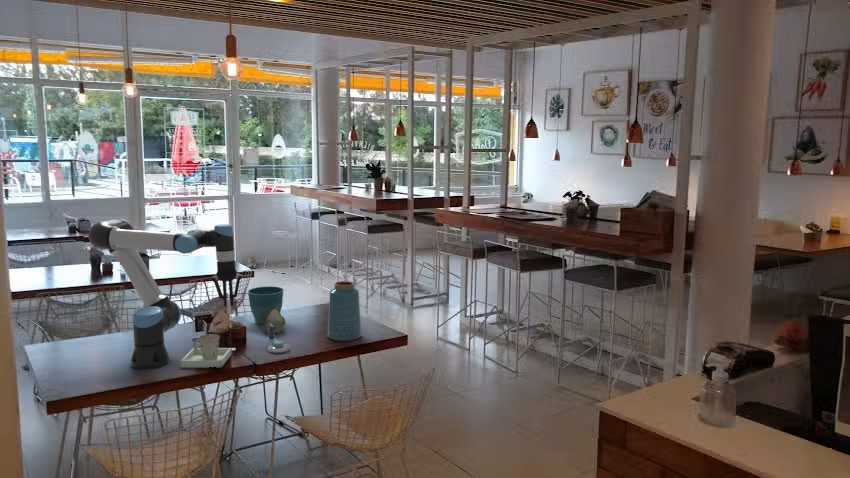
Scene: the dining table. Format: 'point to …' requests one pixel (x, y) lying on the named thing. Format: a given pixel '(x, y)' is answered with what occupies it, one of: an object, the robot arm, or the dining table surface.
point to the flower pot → (265, 301)
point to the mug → (208, 346)
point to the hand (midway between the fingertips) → (229, 313)
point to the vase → (344, 312)
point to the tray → (197, 361)
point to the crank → (271, 338)
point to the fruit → (275, 321)
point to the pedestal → (278, 349)
